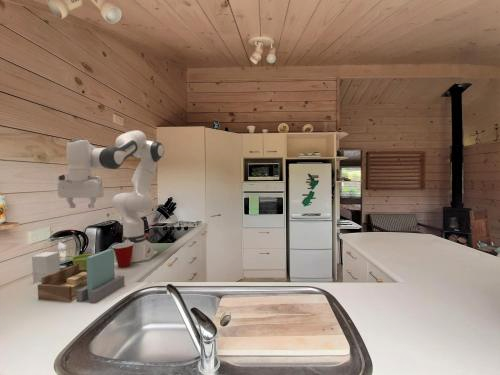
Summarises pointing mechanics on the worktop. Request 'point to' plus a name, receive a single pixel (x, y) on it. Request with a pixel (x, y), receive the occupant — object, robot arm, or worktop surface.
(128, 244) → the plastic cup
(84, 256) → the plant pot
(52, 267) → the supplement box
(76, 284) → the offcut stack
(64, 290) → the open wooden tray
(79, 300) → the sheet stand
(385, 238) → the worktop surface
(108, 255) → the tall sheet
